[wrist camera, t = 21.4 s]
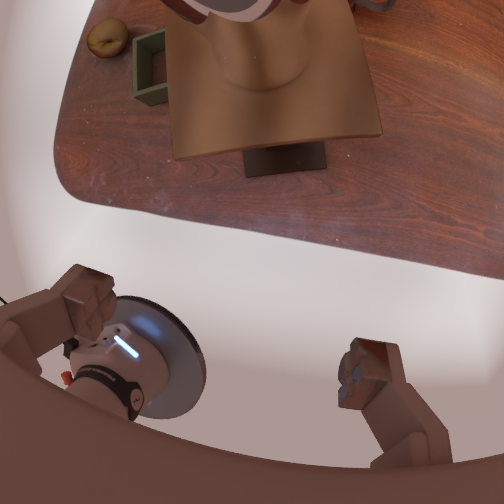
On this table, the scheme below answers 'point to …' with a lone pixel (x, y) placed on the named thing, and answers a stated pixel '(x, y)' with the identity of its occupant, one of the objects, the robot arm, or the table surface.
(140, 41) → the holder
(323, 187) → the table surface
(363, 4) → the mug
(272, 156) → the stand post
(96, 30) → the fruit
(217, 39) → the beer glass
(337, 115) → the square wooden board
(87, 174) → the table surface
